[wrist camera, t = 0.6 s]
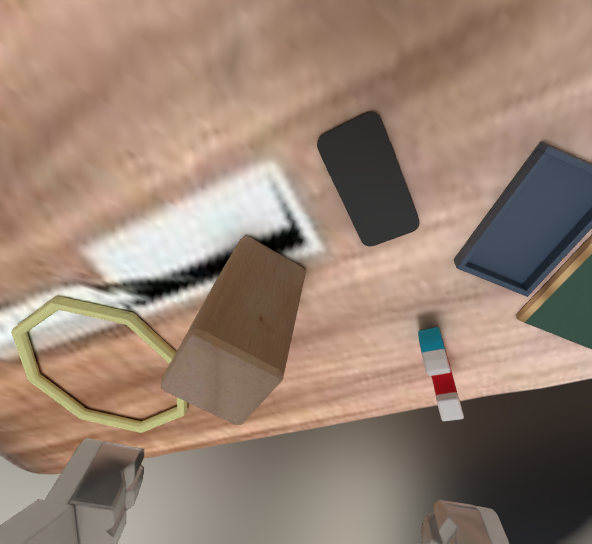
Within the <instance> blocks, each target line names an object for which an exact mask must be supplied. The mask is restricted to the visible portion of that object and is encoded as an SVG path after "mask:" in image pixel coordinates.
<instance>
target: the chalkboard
mask: <svg viewBox="0 0 592 544" xmlns="http://www.w3.org/2000/svg"><path fill="white" fill-rule="evenodd" d="M516 317H517V319H518V320H519V321H522V322H525V323H527V324H530V325H532V326H535V327H537V328H540V329H542V330H545V331H547V332H550V333H552V334H555V335H557V336H560V337H562V338H565V339H567V340H570V341H572V342H575V343H577V344H580V345H582V346H585V347H587V348H590V349H592V235H591V236H590V237H589V238H588V240H587V241H586V242H585V243H584V244H583V245H582V246H581V247H580V248H579V249H578V250H577V251H576V252H575V253H574V254H573V255H572V256H571V257H570V259H569V260H568V261H567V262H566V263H565V264H564V265H563V266H562V267H561V268H560V269H559V270H558V271H557V272H556V273H555V274H554V275H553V276H552V277H551V279H550V280H549V281H548V282H547V283H546V284H545V285H544V286H543V287H542V288H541V289H540V290H539V291H538V292H537V293H536V294H535V295H534V296H533V298H532V299H531V300H530V301H529V302H528V303H527V304H526V305H525V306H524V307H523V308H522V309H521V310H520V311H519V312H518V313H517V314H516Z"/></svg>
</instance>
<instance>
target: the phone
mask: <svg viewBox="0 0 592 544" xmlns="http://www.w3.org/2000/svg"><path fill="white" fill-rule="evenodd" d="M317 147H318V150H319V153H320V155H321V157H322V160H323V162H324V163H325V165H326V168H327V170H328V172H329V174H330V176H331V178H332V181H333V183H334V185H335V187H336V189H337V191H338V193H339V195H340V197H341V199H342V201H343V203H344V206H345V208H346V210H347V212H348V214H349V216H350V218H351V220H352V222H353V225H354V227H355V229H356V231H357V233H358V235H359V237H360V239H361V241H362V243H363V244H364V245H366V246H375V245H378V244H380V243H383V242H386V241H389V240H391V239H394V238H397V237H400V236H402V235H405V234H408V233H411V232H413V231H415V230H416V229H417V228H418V227H419V218H418V215H417V212H416V210H415V207H414V205H413V202H412V199H411V197H410V194H409V191H408V189H407V186H406V183H405V181H404V178H403V175H402V173H401V170H400V168H399V165H398V162H397V160H396V156H395V153H394V151H393V148H392V145H391V143H390V141H389V139H388V136H387V133H386V131H385V128H384V125H383V123H382V120H381V118H380V116H379V115H378V114H377V113H375V112H367V113H364V114H362V115H360V116H358V117H356V118H354V119H352V120H350V121H348V122H346V123H344V124H342V125H340V126H338V127H336V128H334V129H332V130H330V131H328V132H326V133H324V134H322V135H321V136H320V137H319V139H318V142H317Z"/></svg>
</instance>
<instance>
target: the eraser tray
mask: <svg viewBox="0 0 592 544" xmlns="http://www.w3.org/2000/svg"><path fill="white" fill-rule="evenodd" d="M591 229H592V164H591V163H588V162H586V161H584V160H582V159H579V158H577V157H575V156H573V155H570V154H568V153H566V152H564V151H561V150H559V149H557V148H555V147H552V146H550V145H548V144H546V143H543V142H540V143H539V145H538V146H537V147H536V149H535V150H534V151H533V153H532V154H531V156H530V157H529V158H528V160H527V161H526V162H525V164H524V165H523V166H522V168H521V169H520V171H519V172H518V173H517V175H516V176H515V177H514V179H513V180H512V181H511V183H510V184H509V185H508V187H507V188H506V190H505V191H504V192H503V194H502V195H501V196H500V198H499V199H498V200H497V202H496V203H495V204H494V206H493V207H492V209H491V210H490V211H489V213H488V214H487V215H486V217H485V218H484V219H483V221H482V222H481V224H480V225H479V226H478V228H477V229H476V230H475V232H474V233H473V234H472V236H471V237H470V238H469V240H468V241H467V243H466V244H465V245H464V247H463V248H462V249H461V251H460V252H459V253H458V255H457V256H456V257H455V259H454V262H455V265H456V267H457V268H458V269H460V270H463V271H465V272H467V273H470V274H472V275H475V276H477V277H480V278H482V279H485V280H487V281H490V282H492V283H495V284H497V285H500V286H502V287H504V288H507V289H509V290H512V291H514V292H517V293H519V294H522V295H524V296H527V297H528V296H529V295H530V294H531V292H532V291H533V290H534V289H535V288H536V287H537V286H538V285H539V284H540V283H541V282H542V281H543V280H544V279H545V278H546V277H547V275H548V274H549V273H550V272H551V271H552V270H553V269H554V268H555V267H556V266H557V265H558V264H559V263H560V262H561V261H562V259H563V258H564V257H565V256H566V255H567V254H568V253H569V252H570V251H571V250H572V249H573V248H574V247H575V246H576V245H577V243H578V242H579V241H580V240H581V239H582V238H583V237H584V236H585V235H586V234H587V233H588V232H589V231H590V230H591Z"/></svg>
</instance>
